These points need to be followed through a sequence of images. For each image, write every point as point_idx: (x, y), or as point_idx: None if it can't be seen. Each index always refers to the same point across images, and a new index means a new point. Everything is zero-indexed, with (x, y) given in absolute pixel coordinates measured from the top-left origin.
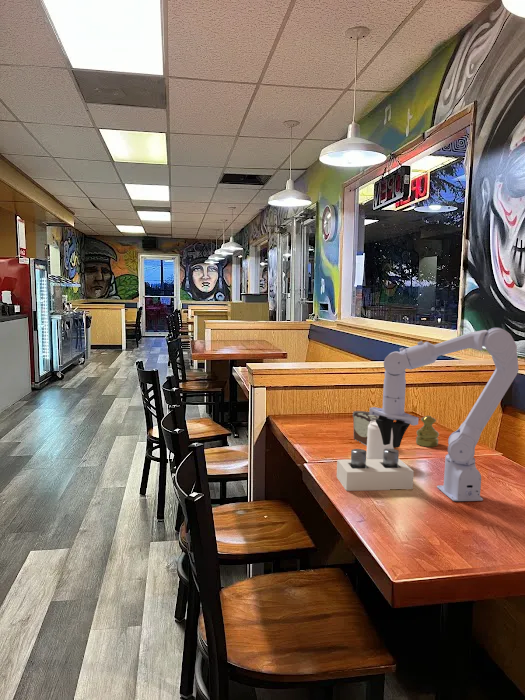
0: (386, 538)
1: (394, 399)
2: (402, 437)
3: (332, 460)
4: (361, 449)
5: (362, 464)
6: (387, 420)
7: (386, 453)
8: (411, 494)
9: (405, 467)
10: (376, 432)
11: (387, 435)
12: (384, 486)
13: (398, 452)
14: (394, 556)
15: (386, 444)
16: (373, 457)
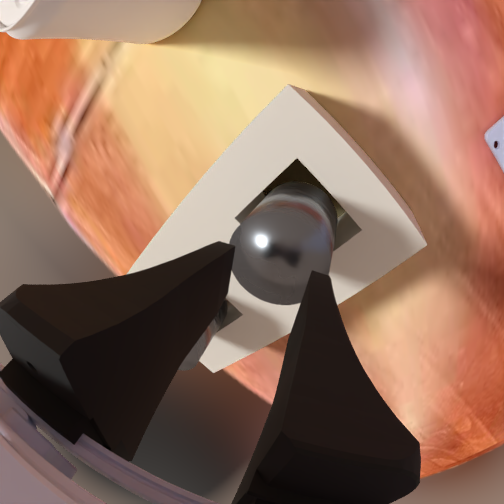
0: None
1: None
2: (342, 324)
3: (69, 131)
4: None
5: (216, 331)
6: (113, 431)
7: (269, 297)
8: (417, 258)
9: (377, 212)
10: (52, 30)
11: (196, 313)
12: None
13: (330, 261)
14: None
15: (229, 281)
16: (140, 40)
